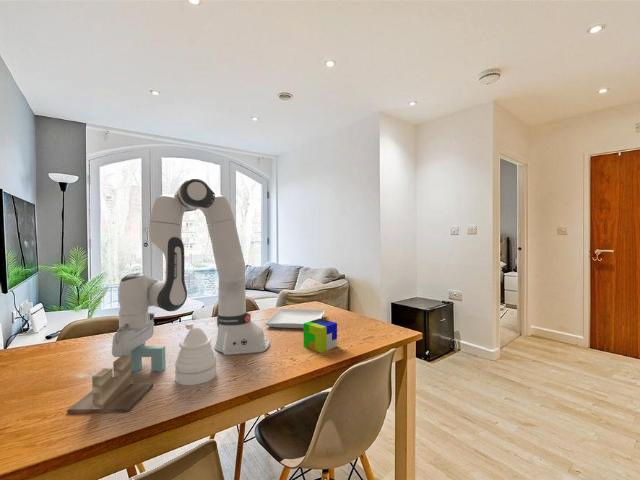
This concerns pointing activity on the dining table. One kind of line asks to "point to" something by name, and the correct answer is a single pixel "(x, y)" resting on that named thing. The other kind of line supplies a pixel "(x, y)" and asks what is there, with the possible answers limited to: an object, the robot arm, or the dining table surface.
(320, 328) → the puzzle toy
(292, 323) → the square plate
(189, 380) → the honey pot
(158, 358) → the green arch block
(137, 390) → the stand
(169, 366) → the dining table surface
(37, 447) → the dining table surface
